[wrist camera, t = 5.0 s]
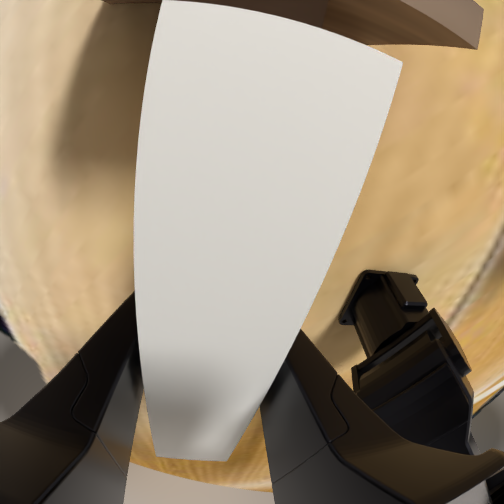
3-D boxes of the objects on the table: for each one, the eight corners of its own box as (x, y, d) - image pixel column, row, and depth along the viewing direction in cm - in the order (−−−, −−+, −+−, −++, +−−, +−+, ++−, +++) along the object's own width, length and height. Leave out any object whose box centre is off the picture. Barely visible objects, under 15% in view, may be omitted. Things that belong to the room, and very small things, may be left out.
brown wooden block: (342, 134, 18) (429, 201, 10) (95, 99, 15) (-3, 143, 7) (373, 19, 14) (483, 9, 5) (117, -23, 11) (32, -73, 2)
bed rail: (221, 370, 15) (226, 461, 11) (163, 364, 14) (156, 456, 10) (305, 58, 7) (403, 62, 3) (197, 36, 6) (162, -1, 2)
